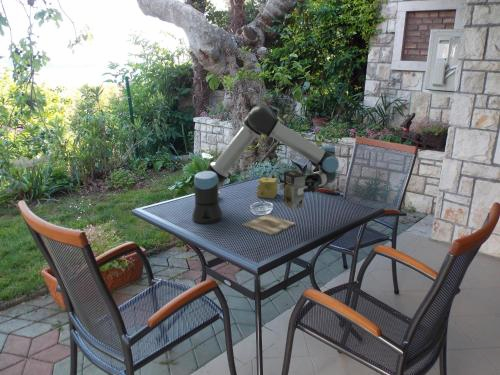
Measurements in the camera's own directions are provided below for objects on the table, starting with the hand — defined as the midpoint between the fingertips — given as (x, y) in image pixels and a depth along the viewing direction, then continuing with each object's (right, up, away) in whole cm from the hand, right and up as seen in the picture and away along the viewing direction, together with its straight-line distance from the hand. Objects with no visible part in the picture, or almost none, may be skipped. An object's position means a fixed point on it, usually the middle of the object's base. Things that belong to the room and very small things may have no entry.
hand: (288, 189), depth 184 cm
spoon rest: (-41, -7, +47) cm, 63 cm away
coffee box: (+3, -8, +6) cm, 10 cm away
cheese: (-7, -4, +57) cm, 58 cm away
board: (-8, -17, +11) cm, 22 cm away
